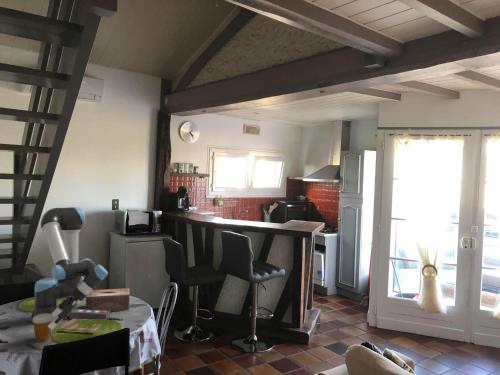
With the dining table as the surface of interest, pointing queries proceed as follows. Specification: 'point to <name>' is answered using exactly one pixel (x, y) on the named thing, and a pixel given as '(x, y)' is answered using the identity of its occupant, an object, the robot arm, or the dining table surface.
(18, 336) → the dining table surface
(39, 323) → the disposable coffee cup
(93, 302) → the tissue box cover
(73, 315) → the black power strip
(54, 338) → the dining table surface
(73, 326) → the walnut board
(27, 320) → the dining table surface
